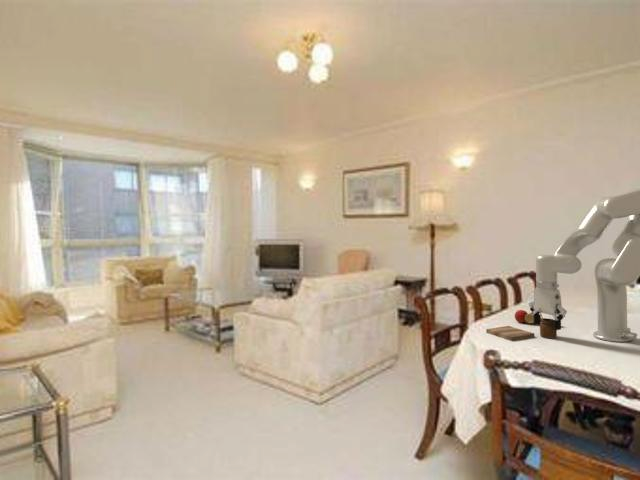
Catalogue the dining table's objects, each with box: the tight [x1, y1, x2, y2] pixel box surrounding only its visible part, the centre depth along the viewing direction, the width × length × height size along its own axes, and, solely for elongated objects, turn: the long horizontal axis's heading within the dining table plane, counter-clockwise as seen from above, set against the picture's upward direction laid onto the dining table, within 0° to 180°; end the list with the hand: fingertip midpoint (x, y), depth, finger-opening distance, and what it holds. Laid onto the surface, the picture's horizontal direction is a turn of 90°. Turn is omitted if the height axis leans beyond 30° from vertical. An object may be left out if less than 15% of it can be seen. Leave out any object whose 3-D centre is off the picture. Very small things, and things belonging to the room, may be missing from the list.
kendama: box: [514, 309, 548, 324], centre depth 185 cm, size 8×6×18 cm
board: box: [485, 325, 535, 342], centre depth 170 cm, size 14×12×2 cm
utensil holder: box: [539, 308, 558, 339], centre depth 165 cm, size 6×6×12 cm
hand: (546, 326), depth 165 cm, fingers open, 9 cm apart
